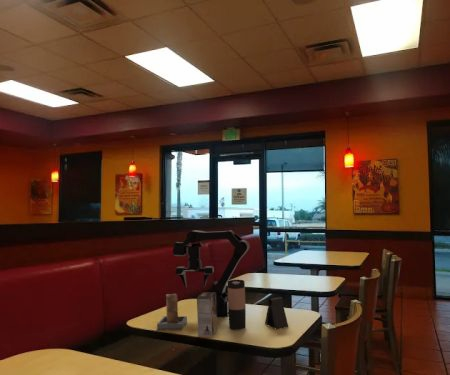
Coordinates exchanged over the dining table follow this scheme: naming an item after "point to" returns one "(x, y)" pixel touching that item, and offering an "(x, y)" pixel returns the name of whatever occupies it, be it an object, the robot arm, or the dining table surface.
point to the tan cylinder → (172, 308)
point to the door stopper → (276, 313)
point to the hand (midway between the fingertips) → (195, 287)
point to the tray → (172, 324)
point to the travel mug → (236, 304)
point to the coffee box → (207, 314)
